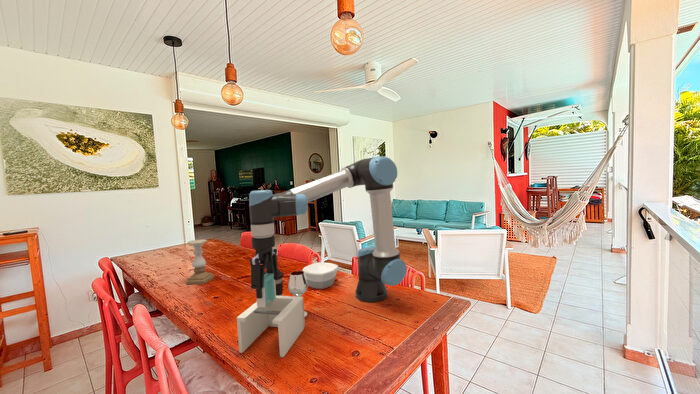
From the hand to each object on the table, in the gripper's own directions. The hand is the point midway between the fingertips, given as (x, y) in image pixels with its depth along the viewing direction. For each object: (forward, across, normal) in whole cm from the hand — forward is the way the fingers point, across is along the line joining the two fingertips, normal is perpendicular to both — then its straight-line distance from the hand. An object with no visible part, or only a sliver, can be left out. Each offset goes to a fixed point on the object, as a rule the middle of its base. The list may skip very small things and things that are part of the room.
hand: (267, 302), depth 95 cm
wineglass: (+15, -21, +2) cm, 26 cm away
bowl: (+15, -55, 0) cm, 57 cm away
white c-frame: (+15, -3, 0) cm, 15 cm away
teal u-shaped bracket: (0, 0, 0) cm, 0 cm away
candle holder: (+15, -52, -74) cm, 92 cm away
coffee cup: (+15, -31, -15) cm, 38 cm away
